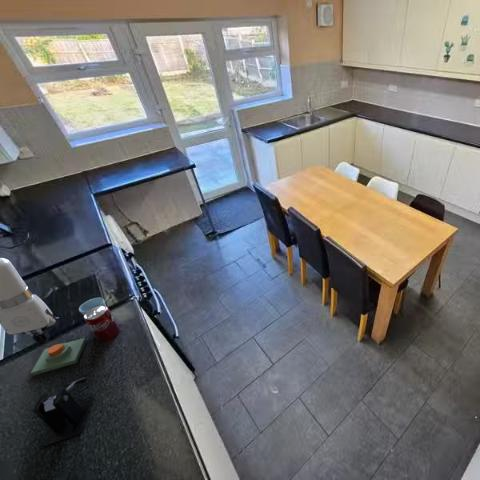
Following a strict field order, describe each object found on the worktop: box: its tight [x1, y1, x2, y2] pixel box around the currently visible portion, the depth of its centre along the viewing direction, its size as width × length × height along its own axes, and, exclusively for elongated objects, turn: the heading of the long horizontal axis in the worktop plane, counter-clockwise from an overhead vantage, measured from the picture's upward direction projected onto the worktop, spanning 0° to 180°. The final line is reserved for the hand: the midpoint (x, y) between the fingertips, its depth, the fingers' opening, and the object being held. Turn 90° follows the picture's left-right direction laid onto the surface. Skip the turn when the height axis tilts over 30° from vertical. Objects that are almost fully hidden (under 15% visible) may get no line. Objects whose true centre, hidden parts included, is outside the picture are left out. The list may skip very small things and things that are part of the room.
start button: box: [48, 343, 64, 356], centre depth 91 cm, size 4×4×2 cm
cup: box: [78, 297, 107, 317], centre depth 104 cm, size 8×8×10 cm
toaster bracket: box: [32, 387, 94, 448], centre depth 72 cm, size 10×8×12 cm
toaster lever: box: [43, 377, 87, 412], centre depth 75 cm, size 13×4×2 cm
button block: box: [30, 337, 89, 376], centre depth 92 cm, size 12×10×4 cm
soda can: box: [83, 305, 122, 343], centre depth 98 cm, size 7×7×12 cm
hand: (44, 340), depth 88 cm, fingers closed
